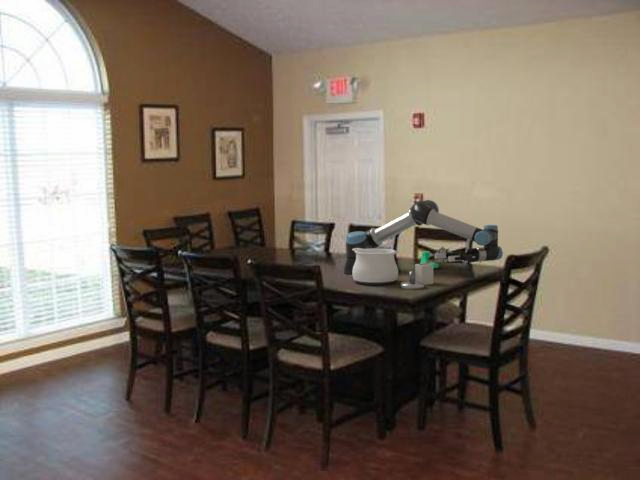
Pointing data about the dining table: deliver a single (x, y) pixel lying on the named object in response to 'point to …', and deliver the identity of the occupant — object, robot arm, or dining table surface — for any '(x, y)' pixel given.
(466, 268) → the dining table surface
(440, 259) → the passion flower
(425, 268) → the box with orange strip
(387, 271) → the pot
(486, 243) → the robot arm
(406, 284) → the hub plate
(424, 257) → the camera mount
